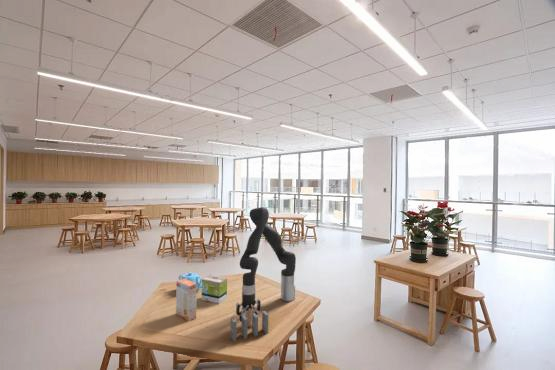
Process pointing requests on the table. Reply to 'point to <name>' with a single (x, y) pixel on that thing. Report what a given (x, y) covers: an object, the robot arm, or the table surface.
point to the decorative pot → (192, 278)
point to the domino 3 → (249, 317)
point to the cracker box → (186, 299)
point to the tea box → (214, 289)
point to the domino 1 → (233, 329)
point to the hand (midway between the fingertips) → (248, 320)
